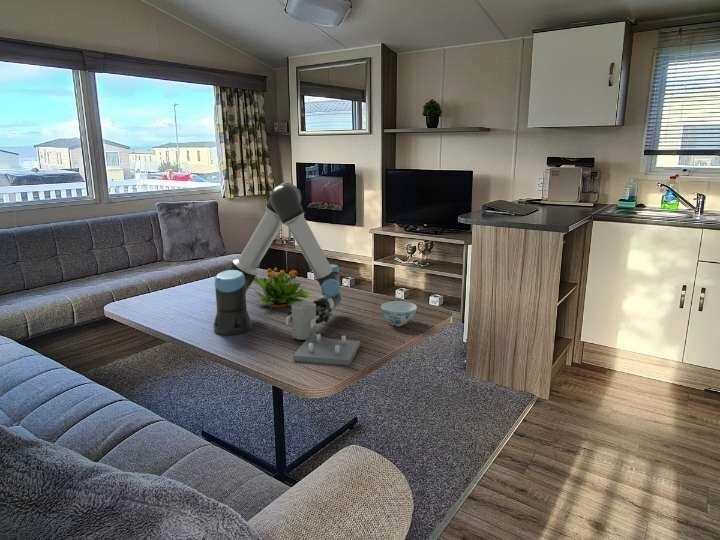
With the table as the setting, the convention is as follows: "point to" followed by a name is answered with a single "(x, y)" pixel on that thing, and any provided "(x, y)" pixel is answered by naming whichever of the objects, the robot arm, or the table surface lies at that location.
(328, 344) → the stub board
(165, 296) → the table surface
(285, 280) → the potted flower
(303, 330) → the grey marbled cylinder
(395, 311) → the chinaware
